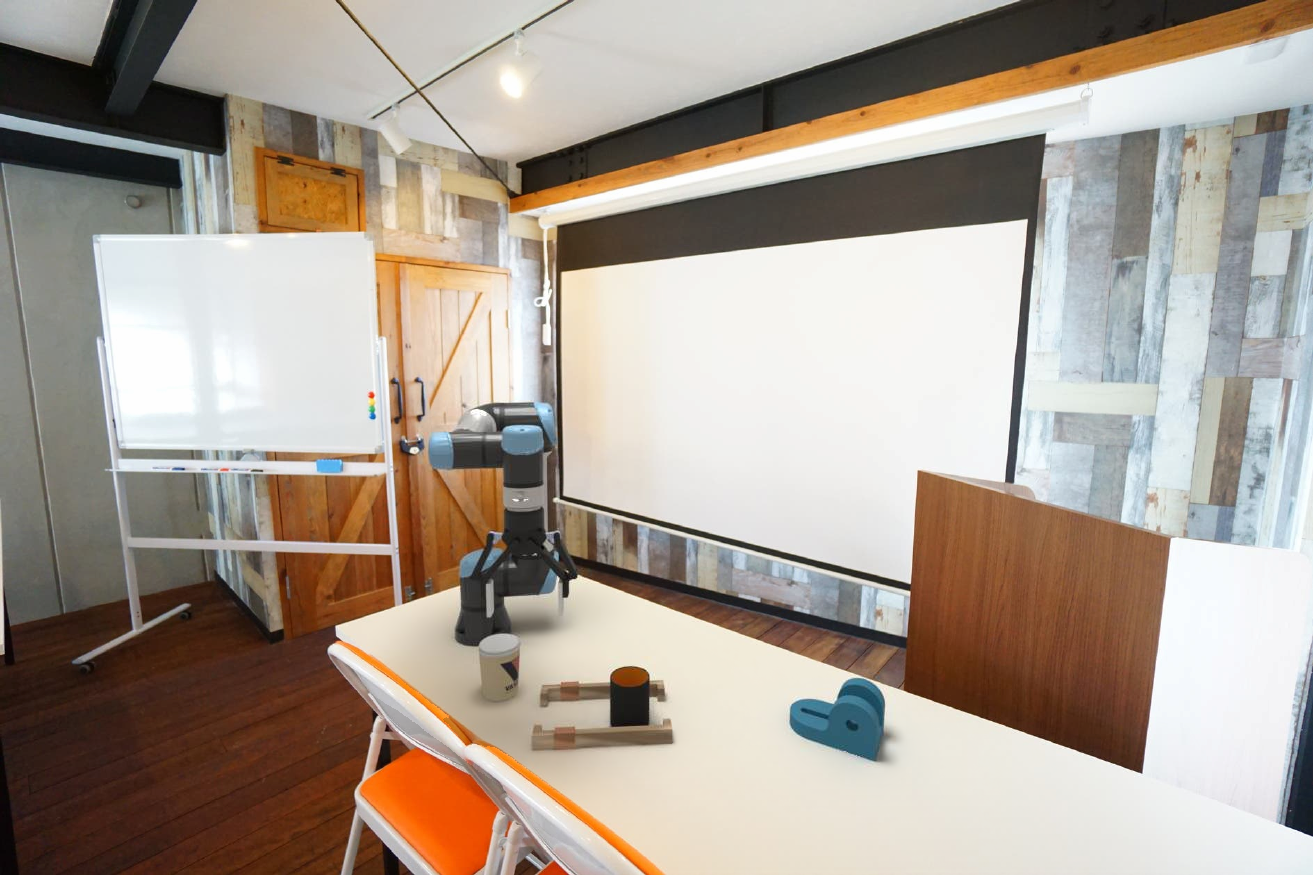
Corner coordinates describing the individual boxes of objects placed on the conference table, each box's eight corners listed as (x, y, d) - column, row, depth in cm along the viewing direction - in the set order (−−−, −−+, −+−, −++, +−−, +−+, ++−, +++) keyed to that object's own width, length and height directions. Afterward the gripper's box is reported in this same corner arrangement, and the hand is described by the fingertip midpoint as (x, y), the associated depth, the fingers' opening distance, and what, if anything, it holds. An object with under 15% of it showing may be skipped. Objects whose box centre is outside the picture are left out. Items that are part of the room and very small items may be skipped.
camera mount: (883, 732, 118) (886, 684, 116) (874, 762, 109) (877, 710, 107) (797, 706, 127) (799, 661, 125) (782, 731, 117) (784, 684, 116)
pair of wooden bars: (542, 696, 129) (542, 682, 128) (662, 691, 131) (663, 677, 131) (532, 750, 111) (531, 734, 110) (672, 743, 113) (672, 727, 113)
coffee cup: (510, 706, 125) (509, 654, 124) (471, 700, 127) (469, 649, 126) (528, 683, 134) (527, 635, 133) (491, 678, 136) (490, 631, 135)
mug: (662, 707, 125) (662, 662, 124) (639, 739, 114) (639, 690, 113) (628, 698, 129) (628, 654, 127) (602, 728, 118) (602, 681, 117)
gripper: (451, 512, 104) (454, 623, 106) (588, 511, 105) (589, 620, 108) (462, 502, 111) (465, 606, 114) (590, 502, 113) (591, 604, 115)
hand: (525, 613), depth 111 cm, fingers open, 13 cm apart
